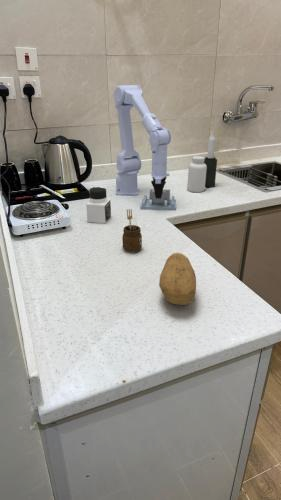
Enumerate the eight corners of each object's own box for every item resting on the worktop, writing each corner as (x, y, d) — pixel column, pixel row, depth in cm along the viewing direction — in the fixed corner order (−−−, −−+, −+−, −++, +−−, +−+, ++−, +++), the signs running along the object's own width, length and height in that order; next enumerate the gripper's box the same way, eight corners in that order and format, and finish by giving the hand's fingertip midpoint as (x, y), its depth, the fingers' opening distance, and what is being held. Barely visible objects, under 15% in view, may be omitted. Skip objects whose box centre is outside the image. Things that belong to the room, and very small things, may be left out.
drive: (149, 204, 143) (149, 192, 141) (150, 201, 147) (150, 189, 145) (169, 205, 142) (169, 193, 140) (169, 201, 146) (170, 189, 144)
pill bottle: (206, 192, 160) (208, 159, 153) (188, 192, 160) (190, 159, 153) (203, 187, 167) (206, 155, 160) (186, 187, 167) (188, 155, 160)
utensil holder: (125, 254, 107) (124, 217, 101) (120, 245, 112) (119, 209, 107) (144, 252, 108) (144, 215, 103) (138, 243, 114) (138, 207, 108)
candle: (200, 185, 170) (204, 130, 159) (209, 184, 172) (214, 130, 161) (206, 188, 166) (211, 132, 155) (215, 186, 168) (220, 131, 156)
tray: (140, 209, 141) (140, 200, 140) (142, 200, 150) (142, 192, 149) (175, 210, 140) (175, 201, 139) (175, 201, 149) (176, 193, 147)
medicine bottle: (106, 223, 128) (104, 191, 123) (87, 222, 130) (84, 190, 124) (111, 216, 134) (110, 185, 129) (93, 215, 136) (91, 184, 130)
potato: (156, 315, 80) (157, 280, 76) (161, 279, 94) (162, 247, 90) (195, 317, 79) (198, 282, 75) (194, 281, 93) (196, 249, 89)
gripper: (169, 167, 130) (168, 202, 137) (170, 158, 143) (169, 190, 149) (150, 166, 131) (149, 201, 137) (152, 158, 144) (152, 190, 150)
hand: (158, 196), depth 143 cm, fingers closed on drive, 4 cm apart
